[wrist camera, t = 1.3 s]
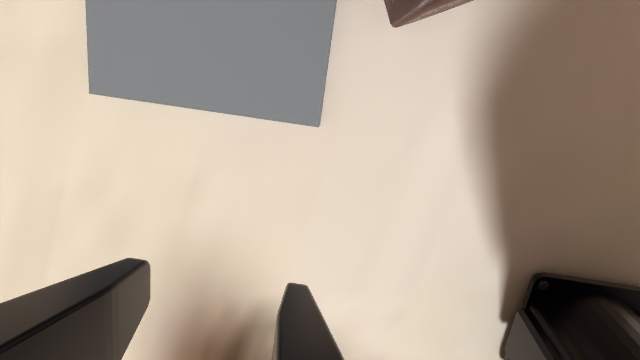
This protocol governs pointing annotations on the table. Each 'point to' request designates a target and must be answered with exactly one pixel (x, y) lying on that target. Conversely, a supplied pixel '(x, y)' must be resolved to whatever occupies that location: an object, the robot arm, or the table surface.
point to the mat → (214, 54)
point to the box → (417, 9)
